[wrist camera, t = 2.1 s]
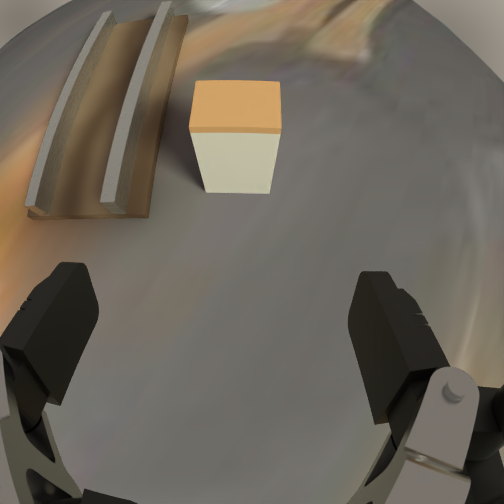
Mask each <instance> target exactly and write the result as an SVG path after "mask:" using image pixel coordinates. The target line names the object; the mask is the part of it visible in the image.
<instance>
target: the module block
mask: <svg viewBox="0 0 504 504" xmlns="http://www.w3.org/2000/svg"><path fill="white" fill-rule="evenodd" d="M281 128H282V127H281V101H280V82H271V81H242V80H214V81H196V85H195V91H194V97H193V103H192V109H191V116H190V123H189V130H190V133H191V137H192V141H193V145H194V149H195V153H196V157H197V161H198V164H199V168H200V172H201V176H202V179H203V183H204V187H205V191H206V192H212V193H261V194H269V192H270V187H271V182H272V177H273V171H274V166H275V161H276V155H277V150H278V145H279V139H280V134H281Z"/></svg>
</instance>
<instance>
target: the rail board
mask: <svg viewBox="0 0 504 504" xmlns="http://www.w3.org/2000/svg"><path fill="white" fill-rule="evenodd" d="M187 24H188V15H180V16H175V15H174V10H173V5H172V1H166V2H162V3H161V5H160V7H159V9H158V12H157V14H156V16H155V18H153V19H146V20H139V21H133V22H127V23H122V24H117V23H116V20H115V17H114V14H113V12H112V11H108V12H103V14H102V16H101V17H100V19H99V21H98V22H97V24H96V26H95V27H94V29H93V31H92V32H91V34H90V36H89V38H88V39H87V41H86V43H85V45H84V47H83V49H82V51H81V52H80V54H79V56H78V58H77V60H76V62H75V64H74V66H73V68H72V70H71V72H70V75H69V77H68V79H67V81H66V83H65V85H64V88H63V90H62V92H61V95H60V97H59V99H58V102H57V104H56V106H55V109H54V111H53V114H52V117H51V119H50V122H49V125H48V127H47V130H46V133H45V136H44V139H43V141H42V144H41V147H40V151H39V154H38V157H37V160H36V163H35V167H34V170H33V174H32V177H31V181H30V185H29V189H28V193H27V197H26V201H25V205H24V206H25V207H27V208H28V209H29V211H28V215H27V216H28V217H29V218H31V219H33V220H42V219H85V218H148V217H149V209H150V202H151V194H152V187H153V180H154V174H155V167H156V161H157V155H158V149H159V144H160V138H161V133H162V128H163V122H164V117H165V113H166V108H167V103H168V98H169V94H170V89H171V85H172V81H173V77H174V73H175V68H176V64H177V60H178V57H179V53H180V49H181V45H182V42H183V38H184V34H185V31H186V28H187Z"/></svg>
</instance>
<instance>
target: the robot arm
mask: <svg viewBox="0 0 504 504" xmlns="http://www.w3.org/2000/svg"><path fill="white" fill-rule="evenodd" d="M98 315H99V306H98V301H97V298H96V295H95V292H94V289H93V286H92V282H91V279H90V276H89V272H88V269H87V267H86V265H85V264H84V263H75V262H61V263H59V264H58V265H57V267H56V268H55V269H54V271H53V272H52V273H51V275H50V276H49V277H47V278H46V279H45V280H43V281H42V282H41V283H39V284H38V285H37V286H36V287H35V288H34V289H33V290H32V292H31V293H30V295H29V296H28V297H27V301H24V303H23V304H22V306H21V307H20V310H18V311H17V313H16V314H15V316H14V317H13V319H12V320H11V322H10V323H9V325H8V326H7V328H6V329H5V331H4V332H3V334H2V335H1V337H0V504H137V503H135V502H133V501H130V500H126V499H121V498H117V497H113V496H109V495H105V494H102V493H98V492H94V491H91V490H88V489H84V492H83V495H82V493H81V491H80V490H79V488H78V486H77V485H76V483H75V481H74V480H73V479H72V477H71V476H70V475H69V474H68V472H67V470H66V469H65V467H64V465H63V462H62V460H61V457H60V454H59V451H58V448H57V445H56V443H55V440H54V436H53V433H52V430H51V427H50V424H49V420H48V417H47V414H46V412H45V410H44V406H45V404H46V402H48V403H51V404H55V405H59V406H61V403H62V401H63V398H64V396H65V393H66V391H67V388H68V386H69V383H70V381H71V378H72V376H73V374H74V371H75V369H76V367H77V364H78V362H79V360H80V358H81V355H82V353H83V351H84V349H85V346H86V344H87V342H88V340H89V338H90V336H91V333H92V331H93V329H94V327H95V325H96V323H97V320H98ZM348 329H349V334H350V337H351V340H352V344H353V347H354V350H355V354H356V357H357V361H358V364H359V368H360V371H361V375H362V378H363V382H364V386H365V389H366V393H367V397H368V400H369V404H370V408H371V412H372V416H373V420H374V424H375V425H376V424H383V423H389V425H390V428H391V431H390V433H389V434H388V436H387V438H386V440H385V442H384V444H383V446H382V448H381V450H380V451H379V453H378V455H377V457H376V459H375V461H374V463H373V465H372V466H371V468H370V470H369V472H368V474H367V475H366V477H365V479H364V480H363V482H362V484H361V486H360V487H359V489H358V490H357V491H356V493H355V494H354V495H353V496H352V498H351V499H350V500H349V501H348V502H347V504H504V467H503V463H502V460H501V456H500V453H499V449H500V448H501V447H503V446H504V385H503V386H502V387H501V388H490V387H480V386H477V384H476V382H475V381H474V379H473V378H472V377H471V376H470V375H469V374H468V373H466V372H465V371H463V370H461V369H459V368H455V367H450V365H449V363H448V361H447V359H446V357H445V355H444V353H443V351H442V349H441V347H440V345H439V343H438V341H437V339H436V337H435V335H434V333H433V331H432V329H431V328H430V326H428V322H427V320H426V318H425V317H424V316H423V315H422V311H421V309H420V308H419V306H418V304H417V302H416V300H415V299H414V298H413V297H411V296H410V295H409V294H408V293H407V292H406V291H405V290H404V289H398V288H397V287H396V285H395V283H394V281H393V279H392V278H391V276H390V274H389V273H388V272H383V271H363V272H361V273H360V275H359V278H358V282H357V285H356V289H355V293H354V296H353V300H352V303H351V307H350V310H349V315H348Z"/></svg>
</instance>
